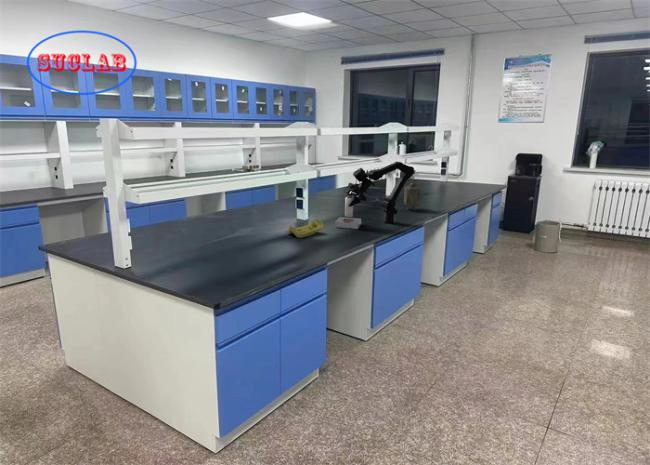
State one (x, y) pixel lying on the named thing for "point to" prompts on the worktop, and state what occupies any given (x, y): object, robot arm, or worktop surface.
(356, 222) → the socket box
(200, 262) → the worktop surface
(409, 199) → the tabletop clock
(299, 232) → the plastic component
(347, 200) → the plug
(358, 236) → the worktop surface
